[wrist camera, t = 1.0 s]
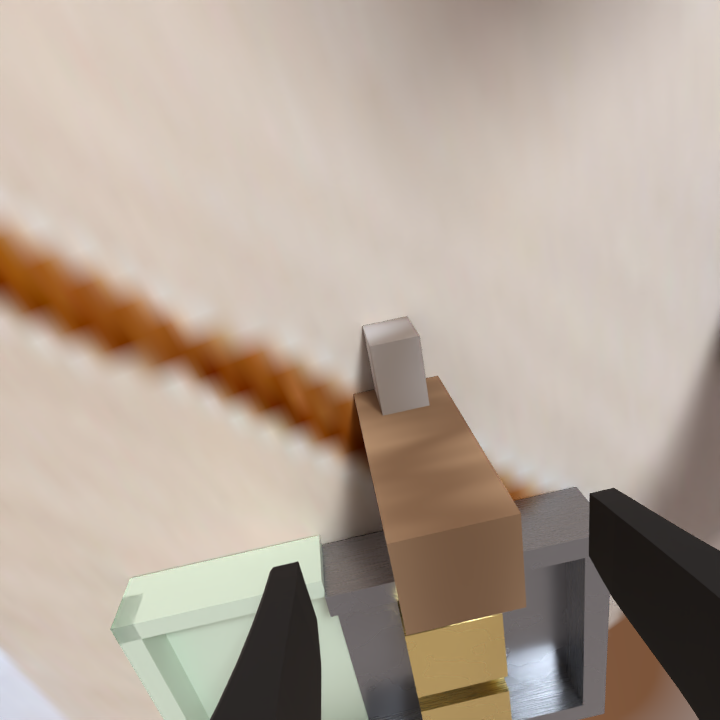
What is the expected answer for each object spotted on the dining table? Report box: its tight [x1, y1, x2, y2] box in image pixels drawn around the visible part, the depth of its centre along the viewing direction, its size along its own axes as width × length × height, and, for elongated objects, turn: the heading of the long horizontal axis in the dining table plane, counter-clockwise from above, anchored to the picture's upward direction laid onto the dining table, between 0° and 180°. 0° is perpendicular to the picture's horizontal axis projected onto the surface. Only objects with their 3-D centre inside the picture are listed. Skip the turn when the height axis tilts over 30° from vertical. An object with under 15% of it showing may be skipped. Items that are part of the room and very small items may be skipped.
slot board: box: [322, 487, 610, 720], centre depth 21 cm, size 10×11×2 cm
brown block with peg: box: [354, 316, 526, 635], centre depth 14 cm, size 3×8×7 cm, turn 11°
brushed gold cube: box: [397, 601, 508, 698], centre depth 19 cm, size 4×4×2 cm
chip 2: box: [418, 677, 512, 720], centre depth 21 cm, size 4×4×2 cm
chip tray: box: [110, 536, 369, 720], centre depth 21 cm, size 8×12×2 cm, turn 11°
